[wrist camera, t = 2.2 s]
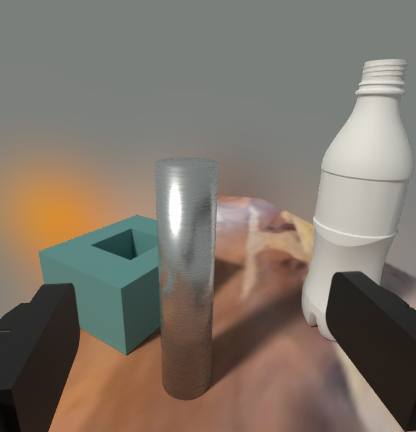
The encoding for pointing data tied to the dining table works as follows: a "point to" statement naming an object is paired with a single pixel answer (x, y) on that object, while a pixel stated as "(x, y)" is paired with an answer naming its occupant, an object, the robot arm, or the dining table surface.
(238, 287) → the dining table surface
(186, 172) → the steel post
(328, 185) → the water bottle
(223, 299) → the dining table surface
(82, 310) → the well block
